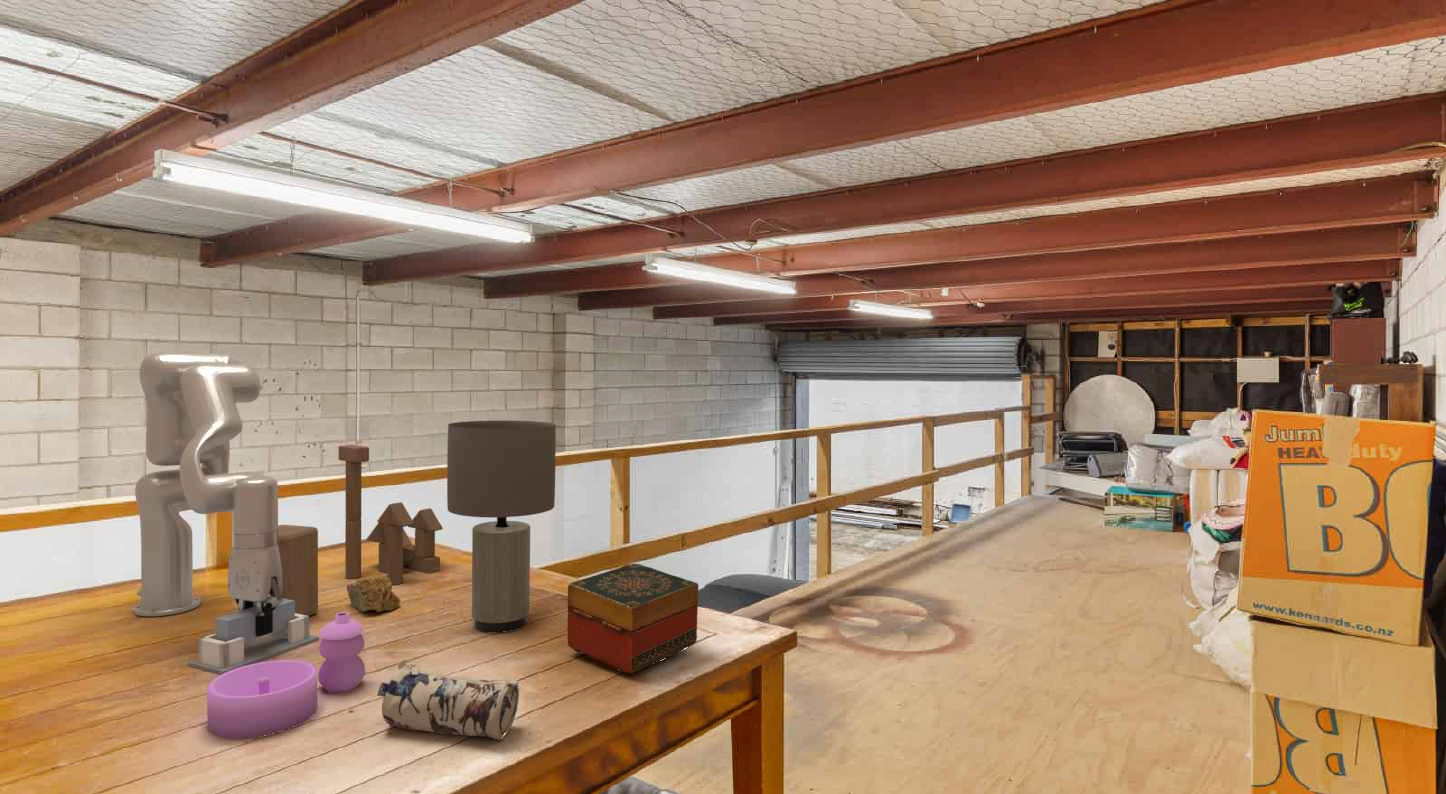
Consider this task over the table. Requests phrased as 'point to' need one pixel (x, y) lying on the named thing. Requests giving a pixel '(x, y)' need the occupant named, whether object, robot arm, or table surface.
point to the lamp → (500, 509)
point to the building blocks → (386, 528)
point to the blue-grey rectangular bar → (251, 622)
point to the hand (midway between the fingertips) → (256, 631)
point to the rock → (372, 594)
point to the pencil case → (449, 703)
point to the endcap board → (251, 647)
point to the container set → (284, 686)
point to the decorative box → (632, 616)
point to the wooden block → (299, 567)
